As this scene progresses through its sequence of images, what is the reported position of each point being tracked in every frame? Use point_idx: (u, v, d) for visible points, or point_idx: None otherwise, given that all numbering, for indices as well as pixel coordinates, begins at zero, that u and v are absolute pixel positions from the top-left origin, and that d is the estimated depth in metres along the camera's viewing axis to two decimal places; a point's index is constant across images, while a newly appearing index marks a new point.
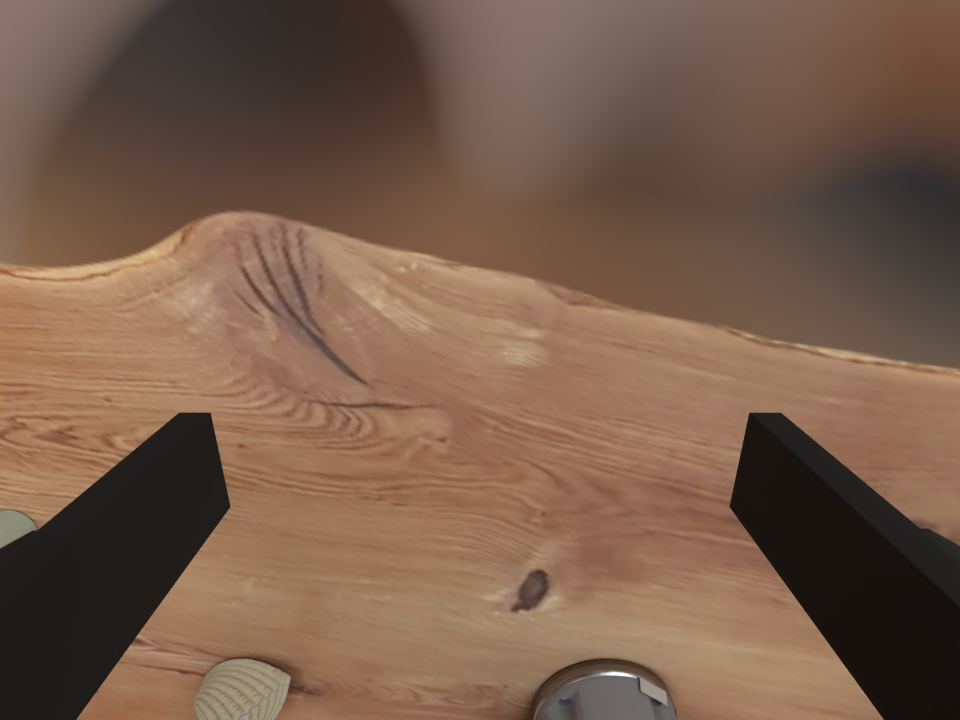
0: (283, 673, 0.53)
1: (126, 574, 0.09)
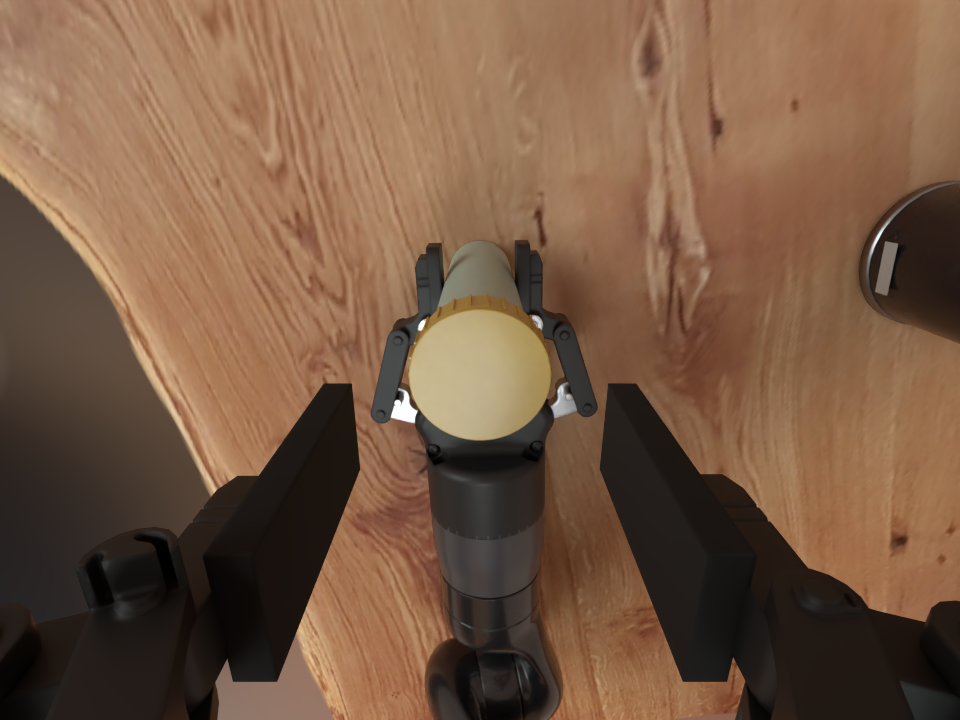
0: None
1: (317, 513, 0.11)
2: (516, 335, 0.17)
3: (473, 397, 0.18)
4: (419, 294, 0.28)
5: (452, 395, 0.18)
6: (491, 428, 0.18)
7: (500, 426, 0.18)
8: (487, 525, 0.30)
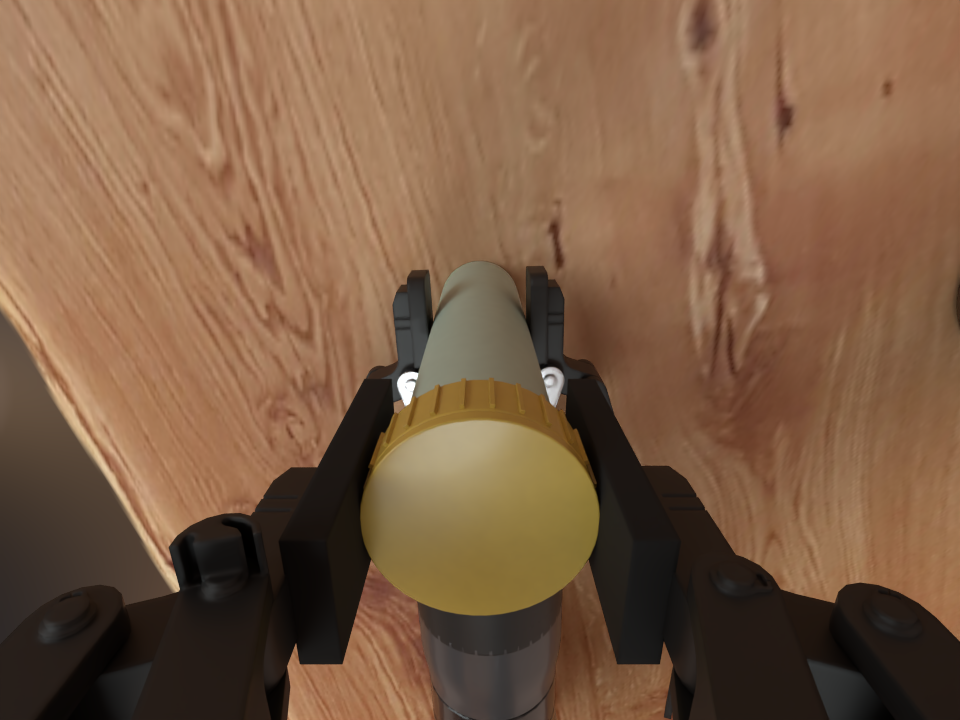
0: None
1: None
2: (542, 460, 0.10)
3: (469, 554, 0.11)
4: (398, 339, 0.21)
5: (434, 551, 0.11)
6: (498, 599, 0.11)
7: (513, 595, 0.11)
8: (489, 638, 0.23)
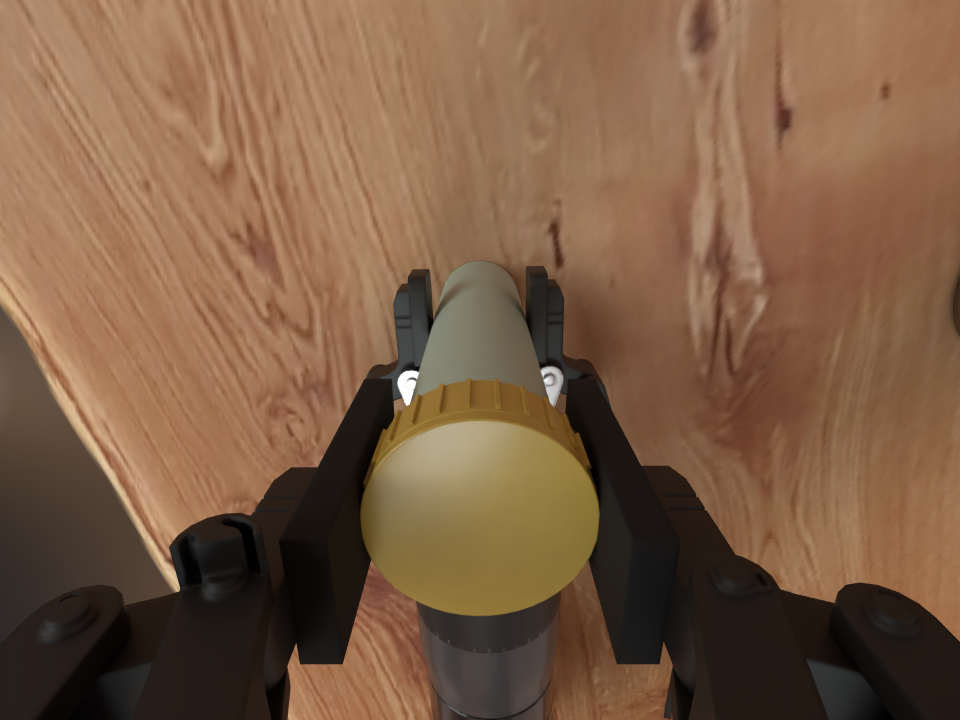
0: None
1: None
2: (383, 517, 0.10)
3: (516, 518, 0.10)
4: (399, 337, 0.21)
5: (531, 544, 0.11)
6: (553, 468, 0.10)
7: (542, 457, 0.10)
8: (488, 636, 0.23)
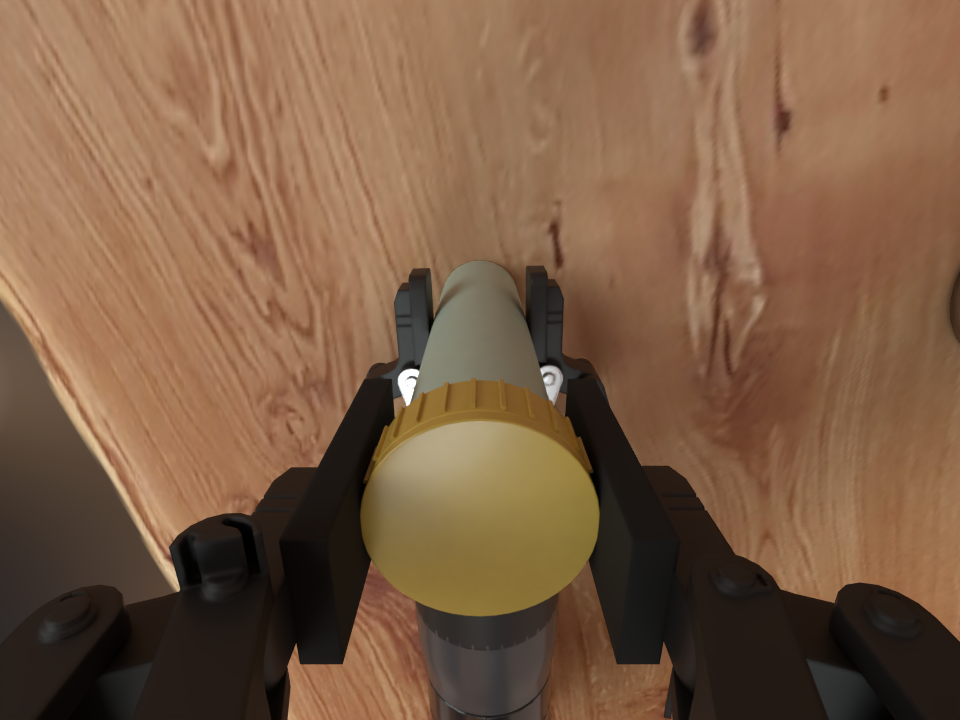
0: None
1: None
2: (520, 593, 0.11)
3: (452, 505, 0.10)
4: (400, 336, 0.21)
5: (471, 478, 0.10)
6: (383, 507, 0.10)
7: (381, 519, 0.10)
8: (486, 633, 0.23)
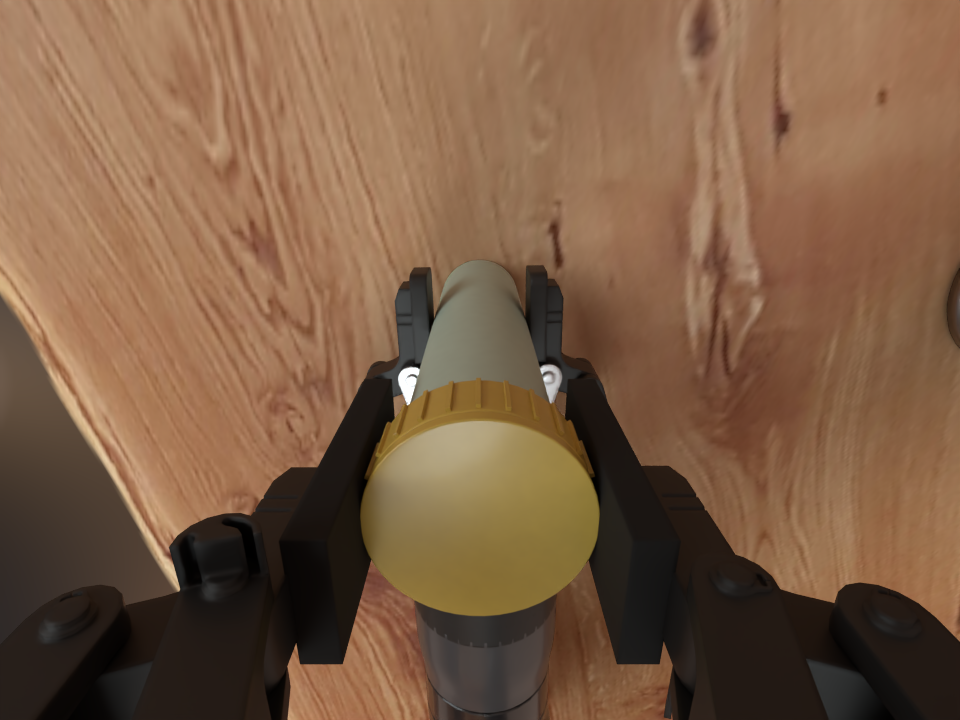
0: None
1: None
2: (533, 455, 0.10)
3: (473, 555, 0.11)
4: (400, 335, 0.21)
5: (437, 555, 0.11)
6: (508, 597, 0.11)
7: (523, 592, 0.11)
8: (485, 630, 0.23)
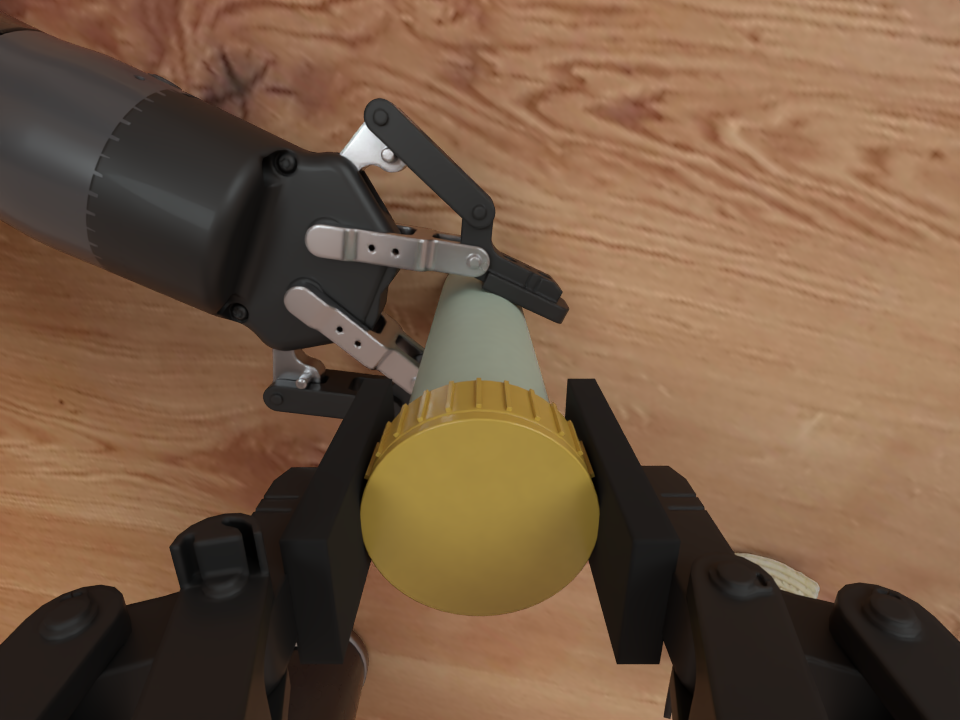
0: (808, 578, 0.34)
1: None
2: (533, 455, 0.10)
3: (472, 555, 0.11)
4: (520, 269, 0.21)
5: (437, 555, 0.11)
6: (508, 597, 0.11)
7: (522, 593, 0.11)
8: (121, 206, 0.17)
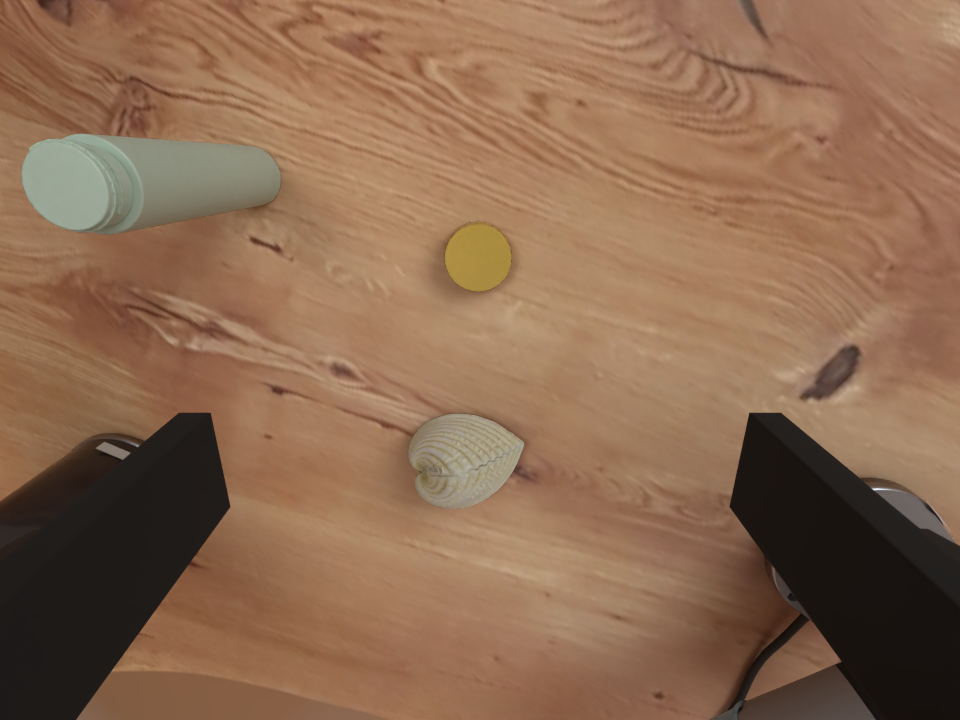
0: (516, 437, 0.44)
1: (125, 574, 0.09)
2: (492, 235, 0.37)
3: (476, 268, 0.38)
4: None
5: (466, 269, 0.38)
6: (486, 284, 0.39)
7: (490, 282, 0.39)
8: None
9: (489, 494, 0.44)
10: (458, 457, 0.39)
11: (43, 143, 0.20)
